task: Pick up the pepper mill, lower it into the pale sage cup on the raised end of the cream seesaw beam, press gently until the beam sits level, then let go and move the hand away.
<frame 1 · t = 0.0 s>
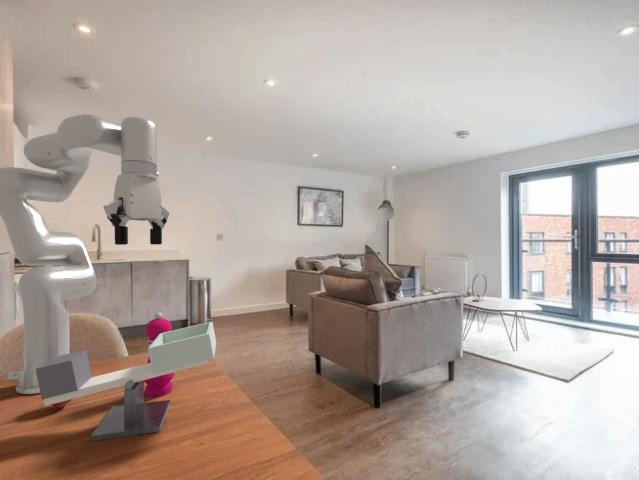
hand: (139, 244, 79), 37 cm above the table, tool pointing down, fingers open, 9 cm apart
onion: (61, 408, 77), on the table
beam: (136, 361, 71), point 13 cm above the table, hinge at -10.0°
pepper mill: (159, 392, 85), on the table
stand: (134, 420, 71), on the table
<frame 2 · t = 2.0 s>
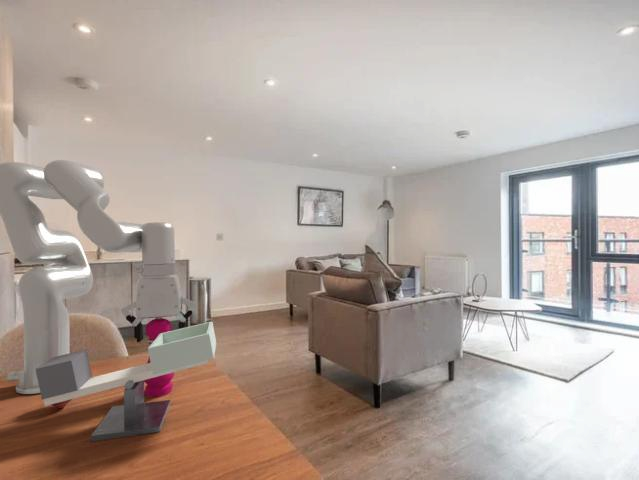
hand: (161, 338, 85), 13 cm above the table, tool pointing down, fingers open, 9 cm apart
nothing on the table moved.
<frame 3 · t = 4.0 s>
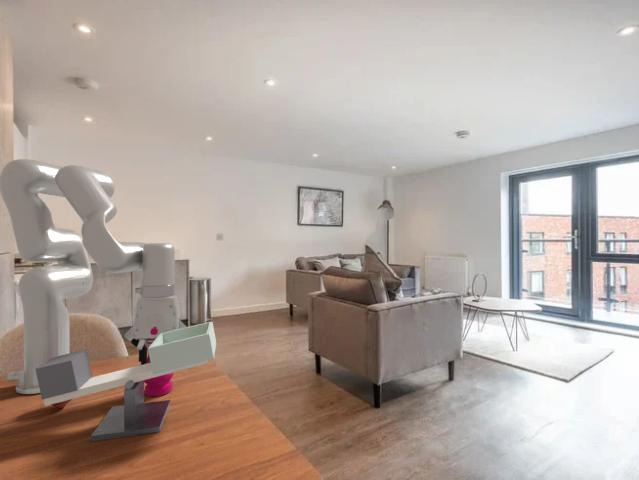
hand: (157, 362, 85), 7 cm above the table, tool pointing down, fingers open, 5 cm apart
pepper mill: (159, 392, 85), on the table, touching gripper
everything else where it was.
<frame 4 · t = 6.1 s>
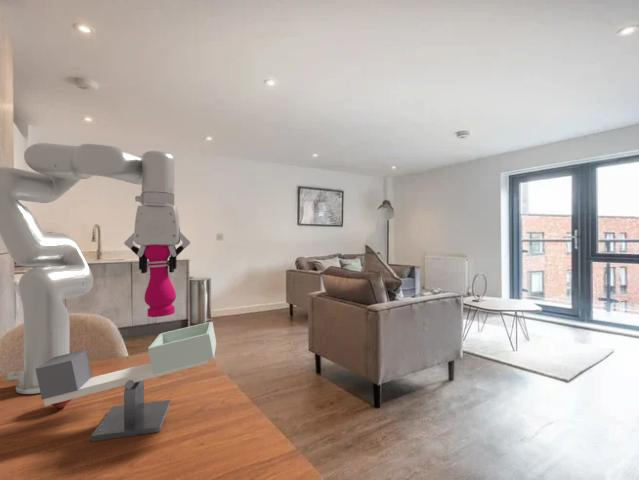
hand: (158, 271, 85), 30 cm above the table, tool pointing down, fingers closed on pepper mill, 5 cm apart
pepper mill: (161, 315, 85), point 19 cm above the table, touching gripper
everything else where it was.
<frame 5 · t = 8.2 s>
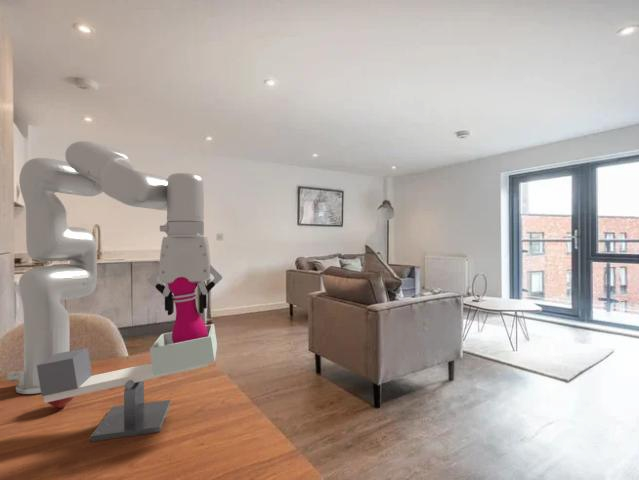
hand: (186, 312, 74), 22 cm above the table, tool pointing down, fingers open, 5 cm apart
beam: (136, 361, 71), point 12 cm above the table, hinge at -7.7°, touching pepper mill
pepper mill: (192, 355, 74), point 13 cm above the table, touching beam, gripper
everything else where it was.
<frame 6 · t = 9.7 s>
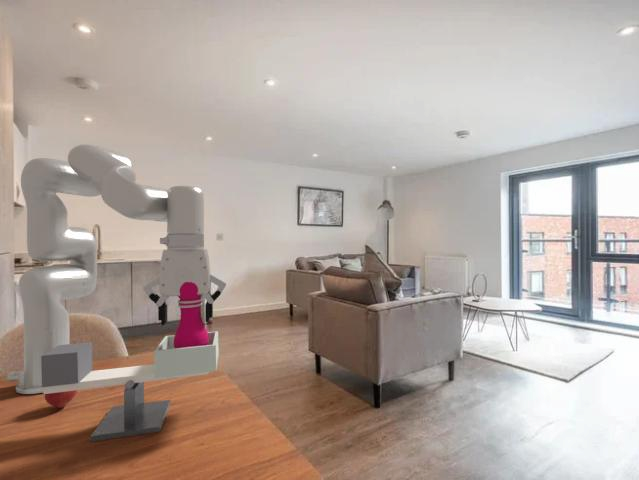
hand: (186, 322, 74), 20 cm above the table, tool pointing down, fingers open, 8 cm apart
beam: (138, 361, 71), point 12 cm above the table, hinge at -1.2°, touching pepper mill
pepper mill: (192, 362, 73), point 11 cm above the table, touching beam
everything else where it was.
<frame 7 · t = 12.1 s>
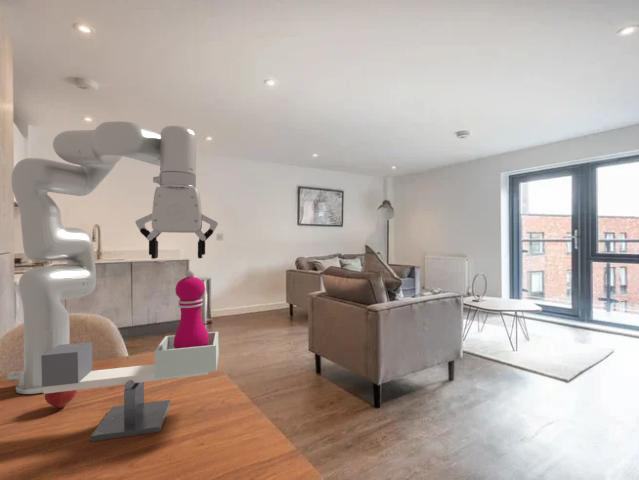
hand: (177, 258, 76), 34 cm above the table, tool pointing down, fingers open, 9 cm apart
nothing on the table moved.
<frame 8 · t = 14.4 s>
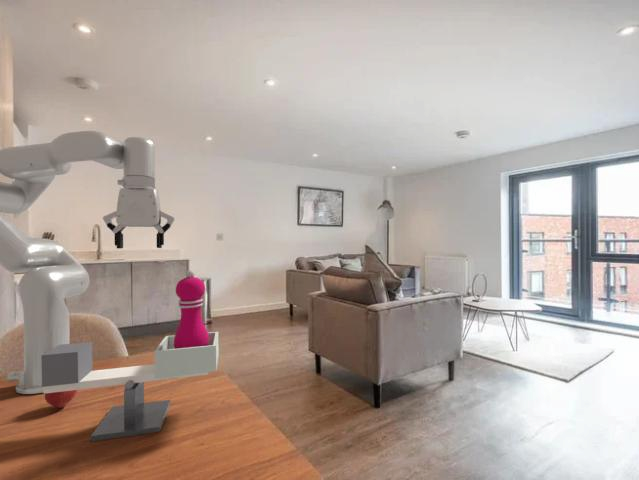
hand: (139, 248, 91), 36 cm above the table, tool pointing down, fingers open, 9 cm apart
nothing on the table moved.
at the end: beam at -1° (first picture: -10°); pepper mill inside the target area on the beam (0.7 cm from its centre), point 2.3 cm above the beam's base; pepper mill tilted 1° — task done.
